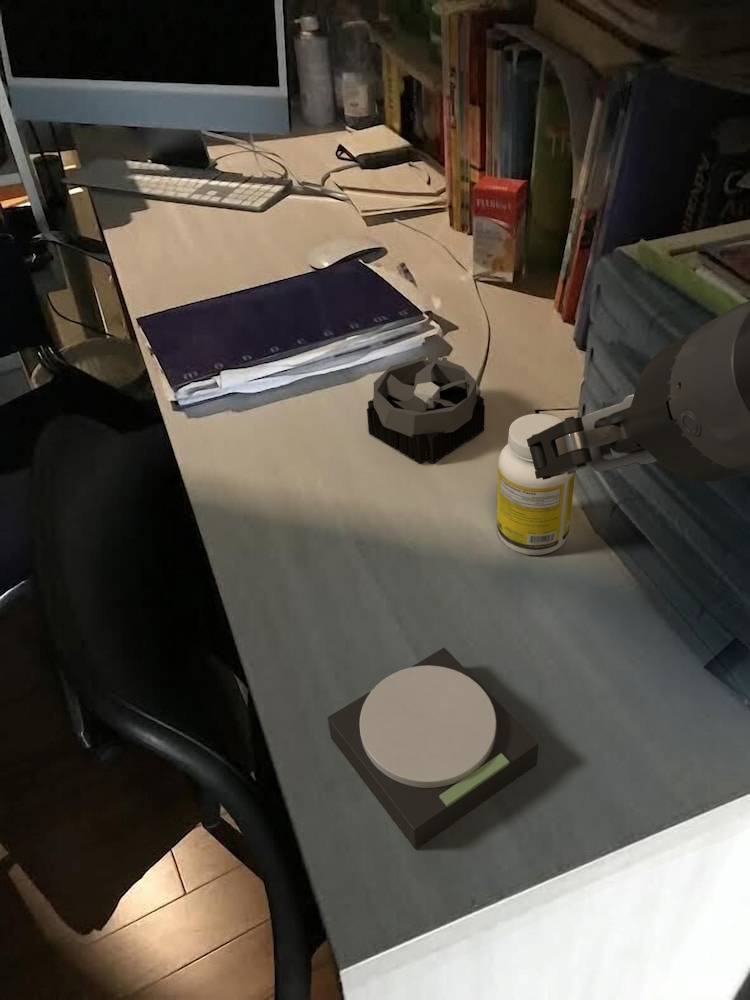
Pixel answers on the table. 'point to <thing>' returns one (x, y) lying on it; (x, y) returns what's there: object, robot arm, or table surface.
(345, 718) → the scale
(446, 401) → the cpu cooler
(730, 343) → the robot arm
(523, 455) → the pill bottle
